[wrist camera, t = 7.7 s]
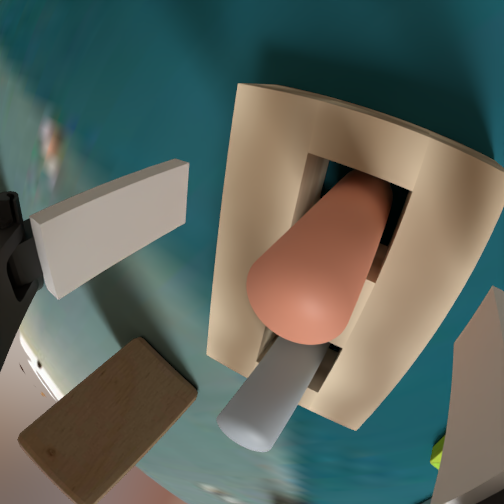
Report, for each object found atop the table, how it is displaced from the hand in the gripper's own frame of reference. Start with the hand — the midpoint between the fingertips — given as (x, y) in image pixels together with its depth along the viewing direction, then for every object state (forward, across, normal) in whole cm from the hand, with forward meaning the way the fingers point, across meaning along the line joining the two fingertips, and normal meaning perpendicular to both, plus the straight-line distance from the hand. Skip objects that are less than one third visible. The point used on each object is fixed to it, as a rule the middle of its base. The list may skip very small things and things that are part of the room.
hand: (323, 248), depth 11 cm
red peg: (+7, 0, 0) cm, 7 cm away
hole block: (+7, 0, -4) cm, 8 cm away
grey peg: (+7, 0, -9) cm, 11 cm away
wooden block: (+7, -15, -30) cm, 34 cm away
